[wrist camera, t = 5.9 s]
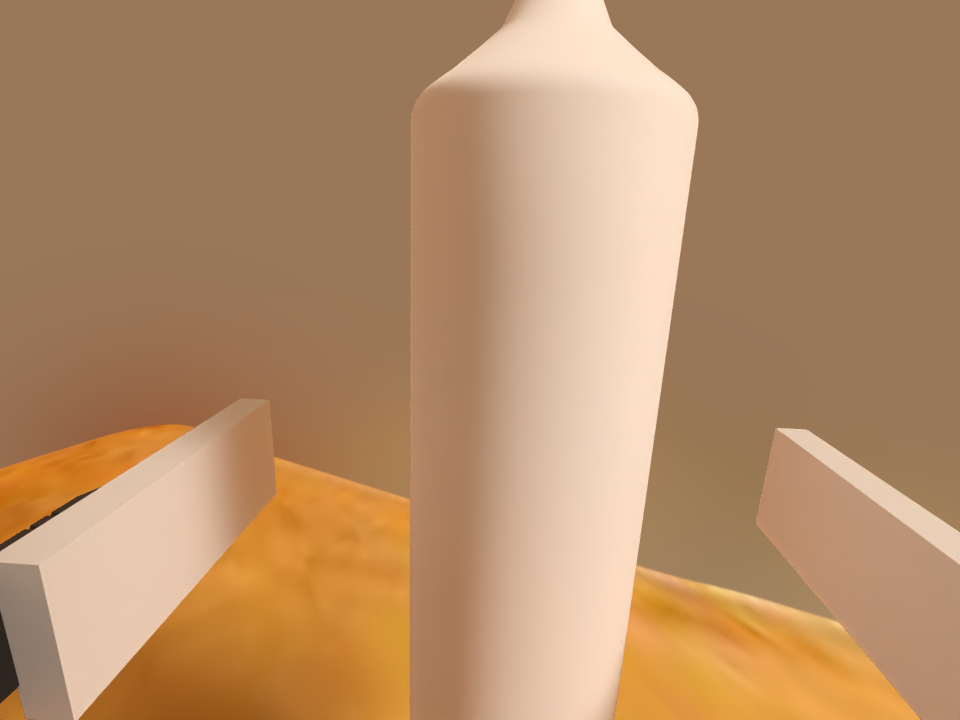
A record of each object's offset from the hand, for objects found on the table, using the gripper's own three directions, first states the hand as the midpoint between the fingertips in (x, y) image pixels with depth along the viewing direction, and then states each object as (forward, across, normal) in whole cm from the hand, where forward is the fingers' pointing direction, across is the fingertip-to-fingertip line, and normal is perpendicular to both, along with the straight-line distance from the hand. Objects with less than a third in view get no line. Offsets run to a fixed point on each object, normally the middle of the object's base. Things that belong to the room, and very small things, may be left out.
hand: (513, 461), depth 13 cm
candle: (-3, 0, -14) cm, 15 cm away
